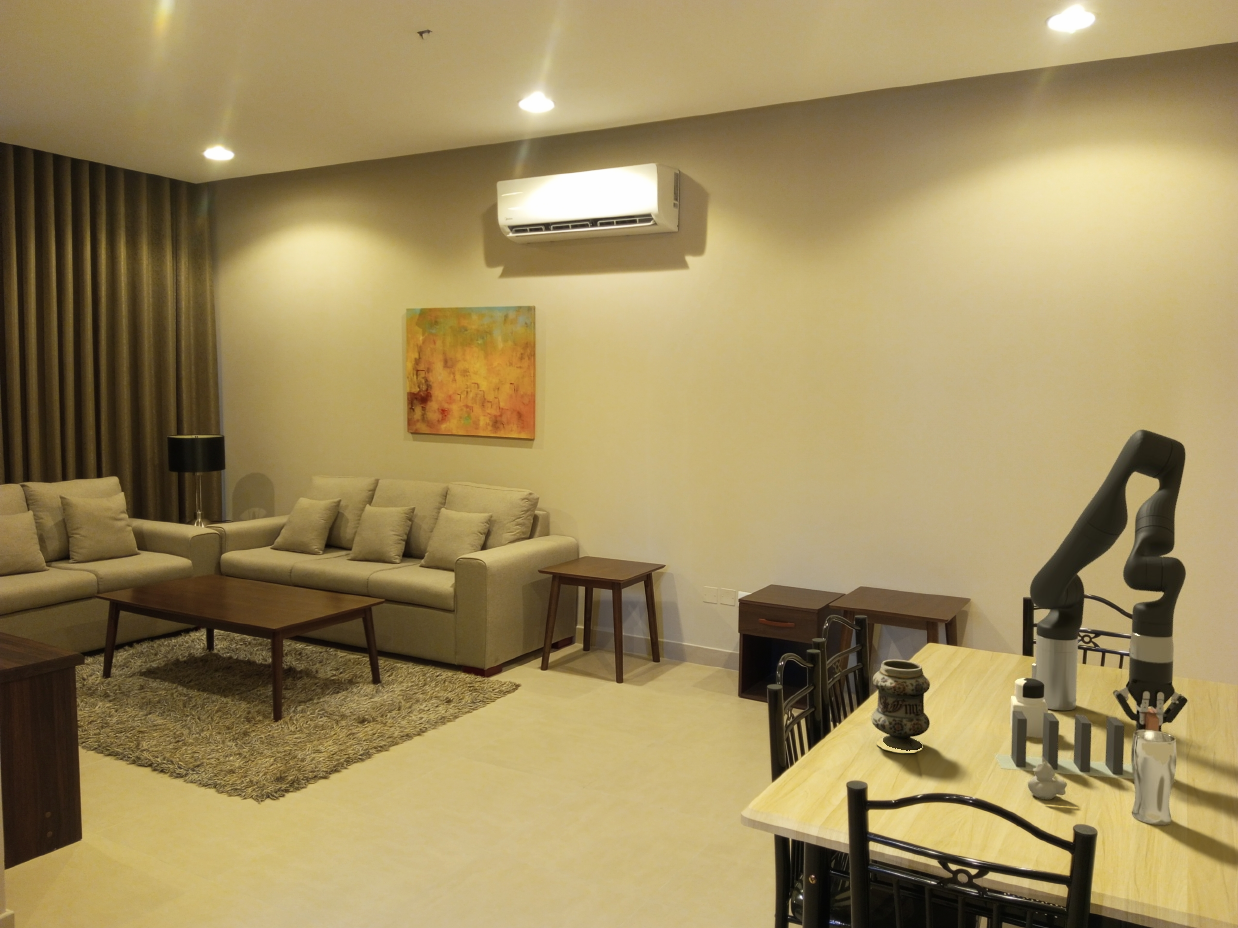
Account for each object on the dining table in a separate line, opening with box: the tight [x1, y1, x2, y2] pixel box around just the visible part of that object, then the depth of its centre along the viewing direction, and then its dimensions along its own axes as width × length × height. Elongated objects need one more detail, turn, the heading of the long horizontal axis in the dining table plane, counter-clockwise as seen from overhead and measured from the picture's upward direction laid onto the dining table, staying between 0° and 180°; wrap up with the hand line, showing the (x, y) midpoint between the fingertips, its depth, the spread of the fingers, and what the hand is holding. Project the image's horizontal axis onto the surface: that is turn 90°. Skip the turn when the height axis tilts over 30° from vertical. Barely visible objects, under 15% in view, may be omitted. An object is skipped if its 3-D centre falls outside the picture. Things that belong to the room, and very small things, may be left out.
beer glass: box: [1130, 729, 1177, 826], centre depth 165 cm, size 7×7×15 cm
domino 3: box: [1073, 714, 1092, 773], centre depth 187 cm, size 2×5×10 cm, turn 167°
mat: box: [993, 753, 1177, 783], centre depth 187 cm, size 32×8×1 cm, turn 78°
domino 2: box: [1041, 712, 1060, 770], centre depth 188 cm, size 2×5×10 cm, turn 167°
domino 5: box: [1145, 707, 1159, 731], centre depth 184 cm, size 2×5×10 cm, turn 167°
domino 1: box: [1010, 711, 1028, 768], centre depth 190 cm, size 2×5×10 cm, turn 168°
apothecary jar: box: [870, 659, 931, 751], centre depth 199 cm, size 12×12×18 cm
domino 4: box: [1104, 716, 1125, 775], centre depth 186 cm, size 2×5×10 cm, turn 168°
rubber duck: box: [1027, 755, 1068, 801], centre depth 173 cm, size 5×7×8 cm
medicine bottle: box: [1009, 677, 1049, 739], centre depth 208 cm, size 7×7×12 cm
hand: (1148, 741), depth 184 cm, fingers closed on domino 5, 1 cm apart
